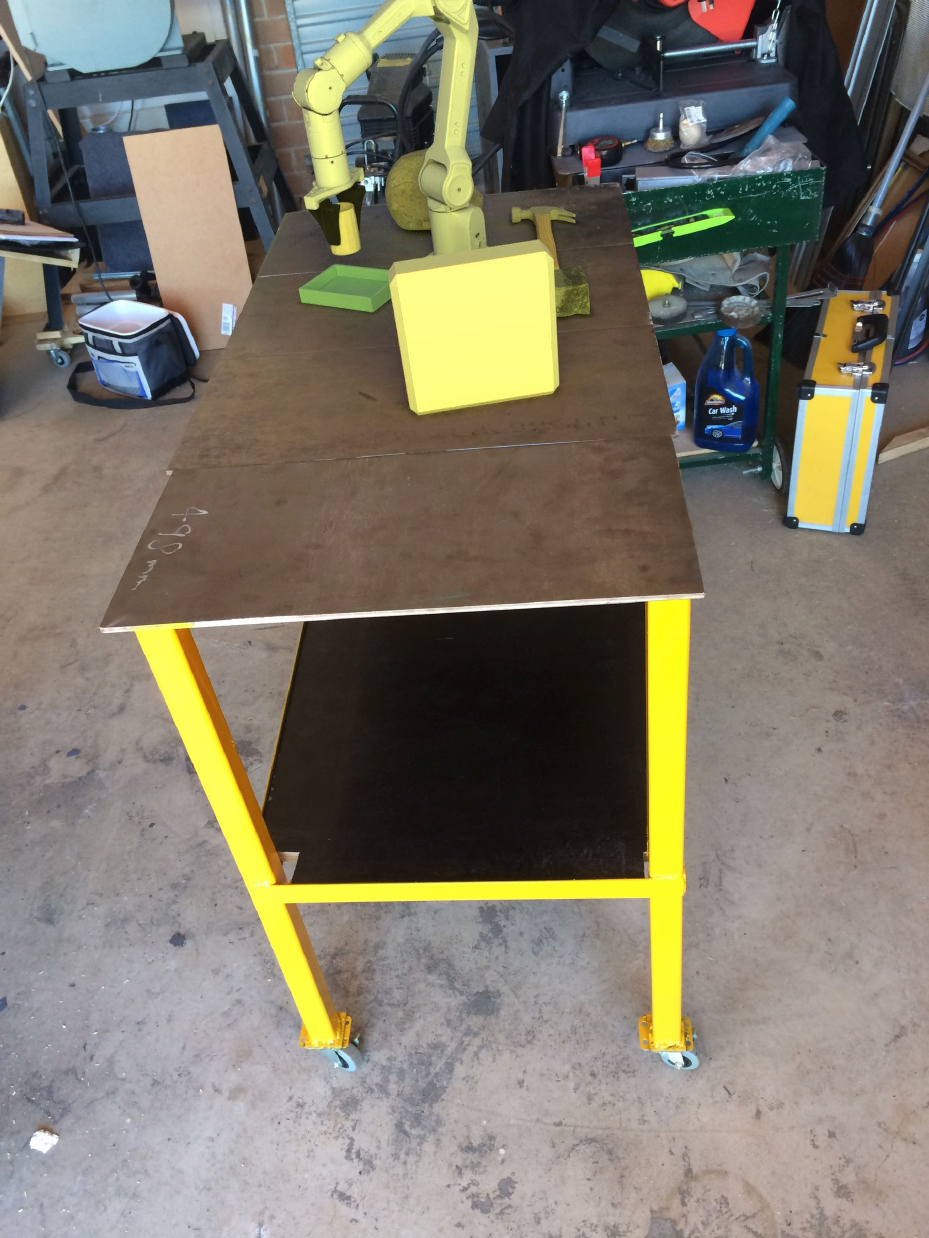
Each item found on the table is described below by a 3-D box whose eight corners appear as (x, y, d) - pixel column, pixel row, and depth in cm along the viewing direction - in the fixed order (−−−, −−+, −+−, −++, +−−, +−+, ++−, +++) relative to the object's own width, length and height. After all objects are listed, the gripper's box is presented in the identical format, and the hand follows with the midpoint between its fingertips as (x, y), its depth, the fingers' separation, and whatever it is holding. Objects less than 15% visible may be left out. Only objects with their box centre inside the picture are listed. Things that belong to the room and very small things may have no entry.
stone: (386, 236, 184) (373, 155, 174) (396, 223, 189) (384, 143, 179) (479, 234, 179) (471, 150, 169) (487, 220, 184) (479, 138, 174)
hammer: (585, 278, 160) (573, 216, 183) (586, 261, 159) (573, 201, 181) (516, 281, 161) (511, 219, 183) (515, 265, 159) (511, 204, 181)
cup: (367, 245, 162) (359, 203, 158) (350, 256, 159) (341, 214, 154) (342, 242, 164) (334, 201, 160) (325, 254, 161) (316, 212, 156)
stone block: (496, 303, 155) (493, 272, 152) (582, 293, 155) (582, 261, 151) (499, 326, 149) (496, 294, 145) (590, 315, 148) (589, 283, 145)
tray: (407, 285, 165) (405, 271, 163) (373, 312, 158) (370, 298, 156) (337, 277, 171) (334, 263, 170) (301, 302, 164) (298, 288, 163)
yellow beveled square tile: (550, 371, 136) (543, 231, 123) (561, 397, 130) (555, 253, 117) (407, 393, 136) (384, 256, 122) (412, 421, 130) (388, 280, 116)
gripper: (333, 138, 157) (349, 221, 167) (282, 166, 149) (301, 252, 158) (368, 140, 154) (382, 224, 164) (317, 169, 146) (335, 256, 155)
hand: (344, 238), depth 160 cm, fingers closed on cup, 5 cm apart
